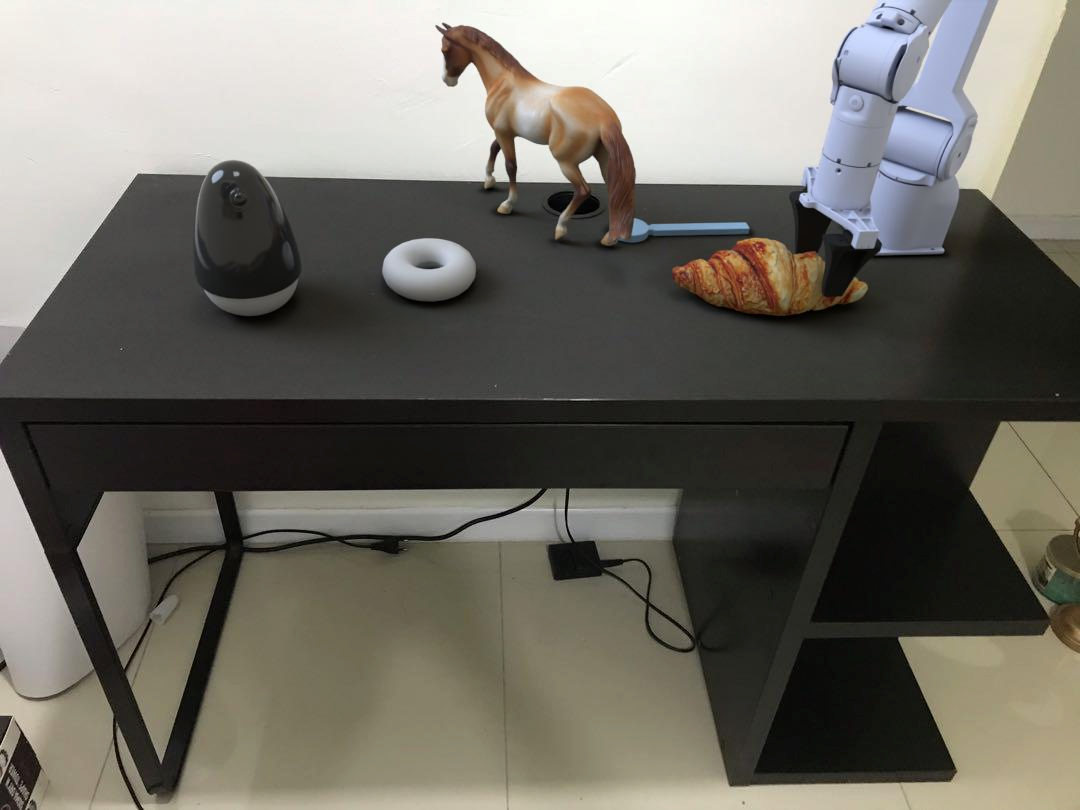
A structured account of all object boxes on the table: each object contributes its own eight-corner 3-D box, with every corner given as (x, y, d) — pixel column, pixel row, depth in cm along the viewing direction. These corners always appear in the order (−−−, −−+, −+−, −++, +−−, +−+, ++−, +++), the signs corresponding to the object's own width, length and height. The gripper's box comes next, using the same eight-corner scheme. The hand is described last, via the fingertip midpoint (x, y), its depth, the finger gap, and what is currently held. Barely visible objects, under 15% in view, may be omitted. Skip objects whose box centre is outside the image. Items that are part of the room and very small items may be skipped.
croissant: (845, 314, 104) (854, 243, 102) (882, 323, 94) (892, 245, 92) (661, 304, 102) (667, 232, 101) (678, 312, 93) (685, 233, 91)
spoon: (741, 222, 113) (742, 214, 112) (752, 240, 109) (754, 232, 109) (606, 224, 111) (607, 217, 110) (613, 243, 107) (614, 235, 106)
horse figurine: (434, 188, 116) (430, 20, 103) (479, 172, 120) (481, 9, 107) (617, 287, 99) (640, 101, 86) (662, 263, 104) (690, 84, 91)
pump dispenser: (208, 338, 88) (177, 193, 78) (198, 284, 95) (168, 146, 86) (314, 321, 91) (296, 180, 82) (296, 270, 99) (278, 135, 89)
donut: (447, 318, 93) (492, 273, 100) (446, 290, 91) (492, 245, 98) (365, 292, 96) (414, 250, 103) (362, 264, 94) (412, 223, 101)
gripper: (787, 126, 94) (760, 243, 103) (842, 188, 83) (807, 313, 92) (851, 126, 95) (819, 241, 104) (914, 187, 84) (872, 311, 93)
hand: (818, 275), depth 98 cm, fingers open, 7 cm apart
